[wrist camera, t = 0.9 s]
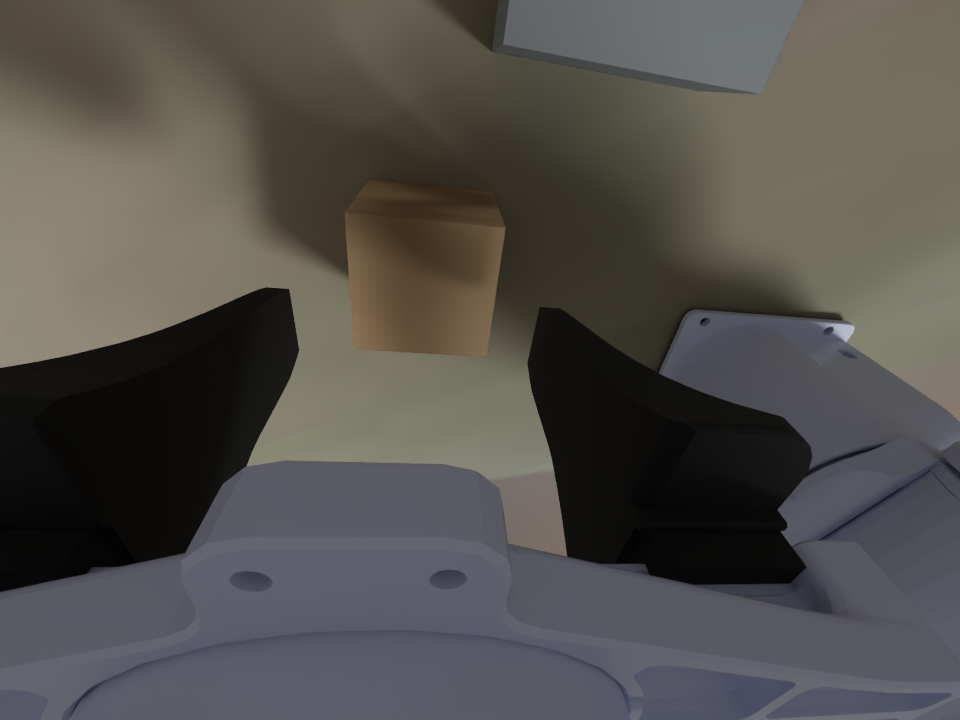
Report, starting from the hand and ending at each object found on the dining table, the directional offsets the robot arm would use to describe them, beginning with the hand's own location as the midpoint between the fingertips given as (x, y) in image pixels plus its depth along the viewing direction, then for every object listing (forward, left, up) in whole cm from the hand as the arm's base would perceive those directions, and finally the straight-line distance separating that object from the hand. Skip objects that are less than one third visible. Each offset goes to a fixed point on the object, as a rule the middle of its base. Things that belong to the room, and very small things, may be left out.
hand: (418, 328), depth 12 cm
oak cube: (0, 0, -8) cm, 8 cm away
